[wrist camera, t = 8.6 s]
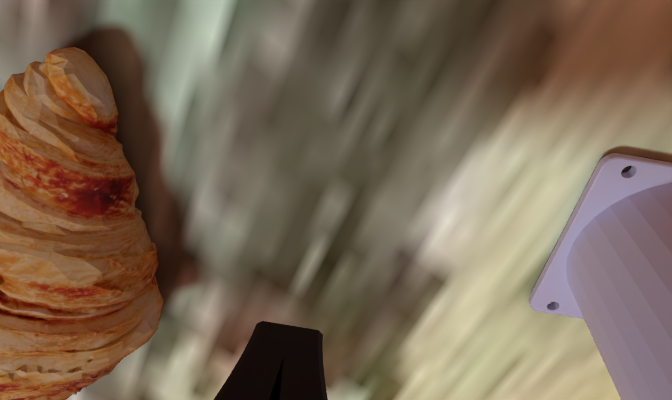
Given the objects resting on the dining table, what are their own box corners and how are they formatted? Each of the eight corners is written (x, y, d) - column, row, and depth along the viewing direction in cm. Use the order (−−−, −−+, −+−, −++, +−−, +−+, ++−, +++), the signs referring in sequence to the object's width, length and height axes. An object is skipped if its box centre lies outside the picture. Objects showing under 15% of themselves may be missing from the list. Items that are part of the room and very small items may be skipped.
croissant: (68, -13, 20) (-204, -26, 14) (249, 111, 17) (16, 169, 11) (40, 322, 31) (-118, 403, 24) (148, 430, 28) (2, 555, 22)
